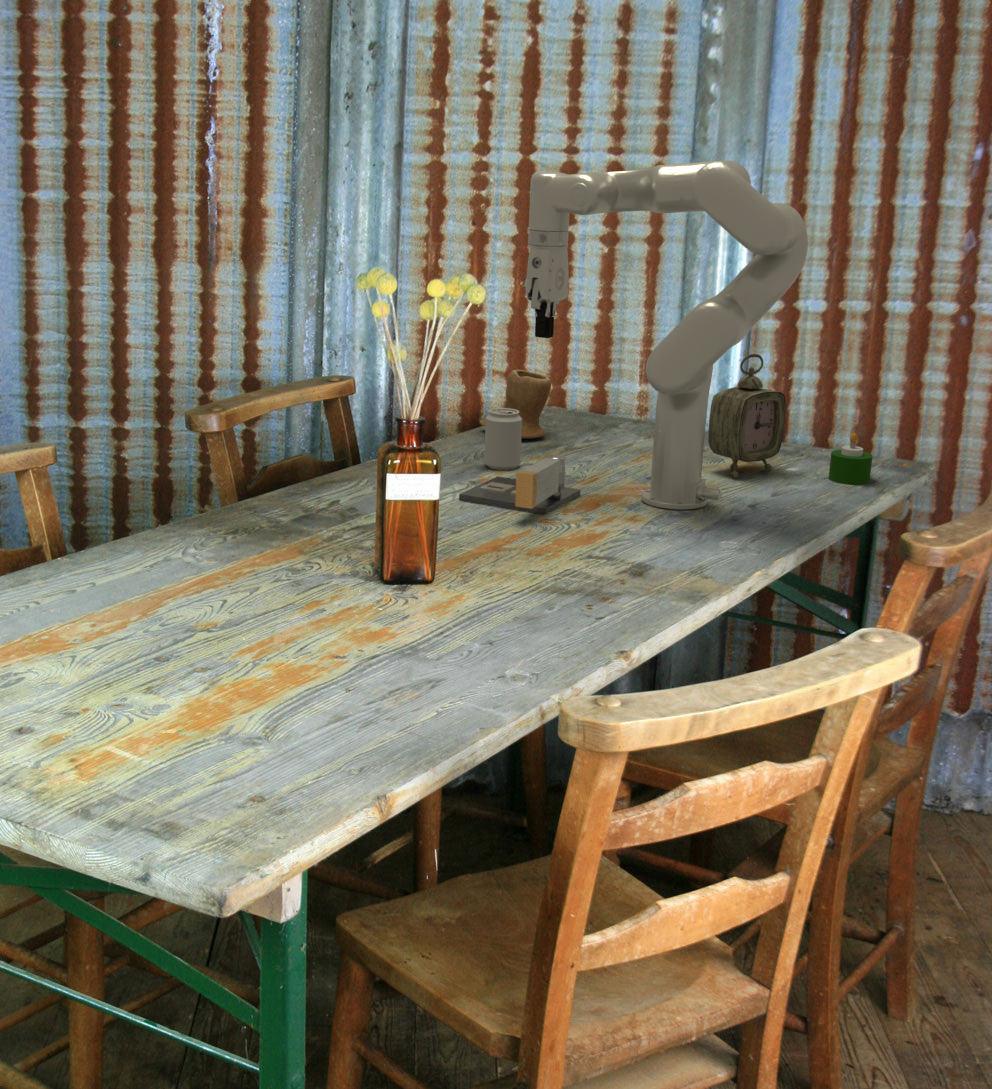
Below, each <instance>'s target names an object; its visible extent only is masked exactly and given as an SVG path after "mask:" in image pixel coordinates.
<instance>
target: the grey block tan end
mask: <svg viewBox="0 0 992 1089" xmlns="http://www.w3.org/2000/svg"><path fill="white" fill-rule="evenodd" d="M515 473H516V474H515V475H516V476H515V477H516V478H515V479H516V500H515V506H516V507H523V508H530V509H532V508H534V507H536V505H537V504H539V503H540V502H542V501H544V500H545V499H547V498H548V497H550V496H552V495H553V494H555V493H556V492H558V490H563V489H564V487H565V477H566V475H565V474H566V456H565V455H561V454H548V455H546V456H545V457H544V458H541V460H538V461H536V462H535V463H533V464H531V465H529V466H528V467H525V469H523V470H518V471H517V472H515Z"/></svg>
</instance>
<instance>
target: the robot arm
mask: <svg viewBox="0 0 992 1089" xmlns="http://www.w3.org/2000/svg"><path fill="white" fill-rule="evenodd" d="M751 182H752V181H751V177H750V173H749V172H748V170H747V168H746V167H745V166H744V165H743V164H742V163H739V162H737V161H733V160H716V161H714V160H712V161H700V162H686V163H684V162H683V163H671V164H670V163H668V164H659V165H654V166H652V167H650V168H644V169H643V168H642V169H634V170H632V169H631V170H618V171H599V172H597V171H596V172H595V171H594V172H591V171H590V172H582V173H572V174H567V173H566V172H565V173H564V172H558V171H557V172H556V171H554V172H553V171H538V172H535V173H533V175H532V176H531V179H530V187H529V188H530V190H529V192H530V193H529V212H528V213H529V214H528V215H529V216H528V236H527V237H528V238H527V239H528V240H527V243H528V244H527V248H529V253H528V259H527V268H526V269H527V270H526V284H525V285H526V286H525V294H526V295H525V296H526V299H527V300H528V301H530V308H531V309H533V310H534V316H535V320H534V321H535V325H534V327H535V328H534V337H535V338H540V339H541V338H543V339H551V338H553V337H554V333H555V332H554V327H555V316H556V309H557V306H558V305H559V304H560V303H561V302H560V301H563V300H565V299H567V298H568V296H569V288H570V287H569V286H570V285H569V280H570V279H569V277H570V276H569V271H570V270H569V255H568V248H569V247H568V246H569V230H570V229H569V228H570V214H573V215H577V216H591V215H596V214H607V213H623V212H645V211H646V212H652V213H656V214H676V213H692V212H695V213H696V212H705V213H706V214H708V216H709V217H710V218H711V219H712V220H714V222H716V224H718V225H719V226H720V227H721V228H722V229H723V230H724V231H726V232H727V233H728V234H729V235H730V236H731V237H733V238H734V239H735V240H736V241H737V242H738V243H739V244H741V245H742V246H743V247H744V248H745V249H747V251H749V252H751V253H753V254H755V256H754V257H753V258H752V259H751V260H750V261H749V263H747V265H745V266H744V267H743V268H742V269H741V270H740V271H739V272H738V274H737V275H735V277H734V278H733V279H732V280H731V281H730V282H729V283H728V284H727V285H726V286H725V287H724V288H723V289H722V290H720V292H719V293H718V294H716V295H714V296H713V297H710V298H708V299H706V300H704V301H703V300H702V301H701V302H700V303H699V304H697V305H696V306H694V308H692V310H690V311H689V312H688V313H687V314H686V315H685V316H684V317H683V319H681V321H679V323H677V325H676V326H675V327H674V328H673V329H672V330H671V331H670V332H669V333H667V335H666V336H665V337H664V338H663V339H662V340H661V341H660V342H659V343H658V344H657V345H656V347H655V348H654V349H653V350H652V351H651V352H650V354H649V355H648V358H647V361H646V366H645V374H646V379H647V381H648V383H649V385H650V386H651V387H652V389H654V390H655V391H656V392H657V397H656V398H657V399H656V404H655V405H656V406H655V415H654V416H655V417H654V427H653V428H654V429H653V430H654V431H653V432H654V433H653V442H652V444H653V445H652V457H651V458H652V459H651V472H650V473H651V475H650V476H651V477H650V488H648V489H645V490H644V491H642V493H641V500H642V502H644V503H645V504H647V505H649V506H653V507H657V508H660V509H666V510H667V509H668V510H681V511H682V510H683V511H684V510H696V509H700V508H701V509H702V508H703V507H706V506H707V504H708V502H709V500H713V501H719V502H720V500H721V498H722V490H720V488H718V487H710V486H708V485H707V484H706V483H707V481H706V480H707V479H706V478H702V475H703V474H702V472H703V461H704V450H705V436H706V424H707V415H708V414H707V413H708V405H709V404H708V403H709V397H710V396H709V395H710V389H711V383H712V379H713V370H714V364H715V363H716V362H717V361H719V359H720V358H721V357H723V356H724V355H725V353H726V352H728V351H729V349H731V348H732V347H734V346H737V344H739V343H740V342H741V341H742V340H743V339H745V337H746V335H747V334H748V333H749V332H750V330H751V329H752V328H753V327H754V326H756V324H757V323H758V322H759V321H760V320H761V319H762V318H763V317H764V316H765V314H767V313H768V312H769V311H770V310H771V309H772V307H774V305H775V304H776V303H777V302H778V301H779V300H780V299H781V298H782V297H783V296H784V295H785V294H786V292H788V290H789V289H790V288H791V287H792V285H793V284H794V282H796V280H797V278H798V277H799V276H800V274H801V272H802V270H803V268H804V265H805V262H806V260H807V256H808V250H809V249H808V248H809V238H808V232H807V228H806V225H805V222H804V220H803V217H802V216H801V214H800V213H799V212H798V211H797V209H796V208H794V207H793V206H791V205H789V204H786V203H781V202H771V201H770V200H769V199H767V197H765V196H764V195H763V194H762V193H761V192H759V191H758V190H757V189H756V188H755V187H754V186H752V183H751Z"/></svg>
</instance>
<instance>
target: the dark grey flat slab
mask: <svg viewBox="0 0 992 1089" xmlns="http://www.w3.org/2000/svg"><path fill="white" fill-rule="evenodd" d="M581 491H582V489H579V488H573V487H567V486H564V489H563V490H558V492H556V493H555V494H553V495H552V496H550V497H548V498H547V499H545V500H544V501H542V502H540V503H539V504H537V505H536V507H534V508H532V509H530V508H523V507H516V506H515V500H516V478H510V477H505V476H495V477H494V478H491V479H490V480H486V481H485V482H483V483H481V484H479V485H476V486H473V487H471V488H469V489H467V490H465V491H462V492H460V493H459V494H458V500H459V501H462V502H467V503H468V502H469V503H475V504H478V505H479V504H480V505H485V506H489V507H490V506H492V507H496V506H497V507H498V508H503V509H508V508H509V510H514V509H515V511H520V510H522V511H521V512H526V511H528V513H532V512H533V513H534V514H538V513H539V514H538V515H544V514H545V516H546V515H548V514H550V513H552V512H554V511H555V510H557V509H559V508H560V507H559V506H561V505H562V506H564V505H566V504H568V503H569V501H570V500H571V501H573V500H575V499H576V497H577V498H579V497H581V495H582V494H581V493H582V492H581ZM578 496H579V497H578ZM574 498H575V499H574ZM572 499H573V500H572ZM571 501H570V502H571ZM567 502H568V503H567ZM565 503H566V504H565ZM563 504H564V505H563ZM562 506H561V507H562ZM558 507H559V508H558ZM556 508H557V509H556ZM516 509H517V510H516ZM549 512H550V513H549ZM547 513H548V514H547Z"/></svg>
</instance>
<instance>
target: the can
mask: <svg viewBox="0 0 992 1089" xmlns="http://www.w3.org/2000/svg"><path fill="white" fill-rule="evenodd" d="M488 412H489V413H488V414H487V416H486V417H485V418H486V427H485V426H484V428H485V433H484V435H485V436H484V459H483V460H484V461H483V462H484V464H485V465H486V466H487V467H488V468H490V469H492V470H498V471H509V469H510V470H511V469H512V470H515V469H516V468H517V467H519V466H520V464H521V462H522V461H521V458H522V457H521V455H522V438H521V435H522V418H521V417H520V416H519V411H518V410H515V409H510V408H507V407H496V408H491V409H489V410H488ZM514 468H515V469H514Z"/></svg>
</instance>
